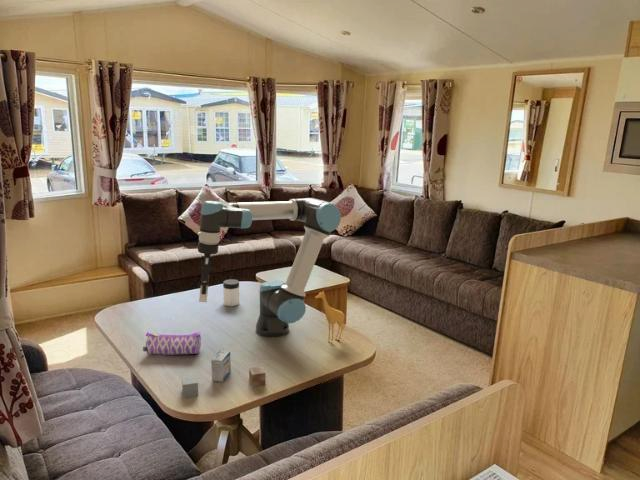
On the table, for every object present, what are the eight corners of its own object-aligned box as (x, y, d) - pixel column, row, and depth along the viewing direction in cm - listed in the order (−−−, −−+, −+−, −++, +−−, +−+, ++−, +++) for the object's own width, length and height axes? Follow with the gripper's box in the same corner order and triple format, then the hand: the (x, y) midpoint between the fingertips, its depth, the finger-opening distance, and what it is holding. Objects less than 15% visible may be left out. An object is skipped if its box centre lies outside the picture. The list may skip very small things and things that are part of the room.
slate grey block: (196, 387, 171) (196, 375, 170) (198, 395, 166) (197, 382, 165) (182, 390, 169) (182, 377, 168) (183, 397, 165) (182, 384, 163)
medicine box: (222, 382, 175) (222, 361, 173) (211, 380, 176) (210, 359, 173) (231, 371, 182) (230, 351, 180) (220, 370, 183) (219, 349, 181)
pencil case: (143, 358, 190) (141, 337, 188) (149, 347, 199) (148, 327, 197) (199, 358, 192) (198, 336, 190) (203, 347, 201) (202, 326, 198)
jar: (239, 306, 245) (239, 284, 242) (223, 307, 243) (223, 285, 240) (238, 299, 254) (238, 278, 251) (223, 300, 252) (222, 279, 249)
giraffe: (317, 349, 202) (318, 294, 196) (311, 345, 206) (312, 290, 199) (347, 340, 211) (349, 287, 205) (341, 336, 215) (343, 284, 209)
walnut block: (262, 378, 179) (262, 366, 177) (265, 385, 174) (265, 372, 173) (249, 380, 177) (249, 368, 176) (251, 387, 172) (251, 374, 171)
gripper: (199, 234, 190) (195, 285, 194) (196, 248, 166) (191, 306, 170) (218, 236, 191) (213, 286, 195) (218, 250, 168) (212, 307, 171)
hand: (203, 296), depth 183 cm, fingers open, 13 cm apart
